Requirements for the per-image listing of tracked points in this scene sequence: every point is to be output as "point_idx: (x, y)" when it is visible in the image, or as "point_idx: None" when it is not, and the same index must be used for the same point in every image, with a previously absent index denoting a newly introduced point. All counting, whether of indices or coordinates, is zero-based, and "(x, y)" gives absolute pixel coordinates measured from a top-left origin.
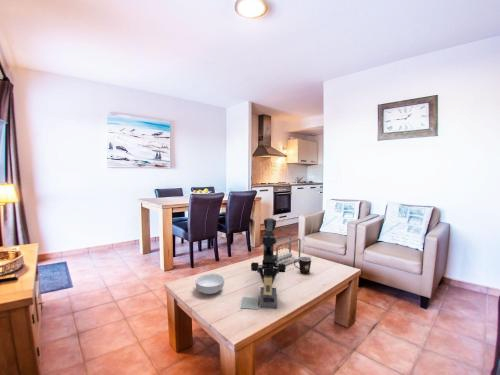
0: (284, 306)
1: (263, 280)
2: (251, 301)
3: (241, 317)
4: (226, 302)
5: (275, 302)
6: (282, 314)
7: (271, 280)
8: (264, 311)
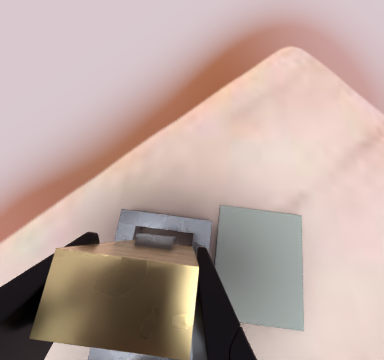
0: (88, 228)
1: (200, 261)
2: (251, 273)
3: (287, 152)
4: (377, 273)
5: (127, 223)
6: (117, 166)
7: (92, 248)
8: (191, 189)
